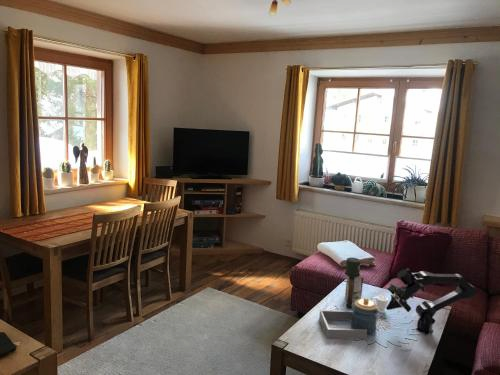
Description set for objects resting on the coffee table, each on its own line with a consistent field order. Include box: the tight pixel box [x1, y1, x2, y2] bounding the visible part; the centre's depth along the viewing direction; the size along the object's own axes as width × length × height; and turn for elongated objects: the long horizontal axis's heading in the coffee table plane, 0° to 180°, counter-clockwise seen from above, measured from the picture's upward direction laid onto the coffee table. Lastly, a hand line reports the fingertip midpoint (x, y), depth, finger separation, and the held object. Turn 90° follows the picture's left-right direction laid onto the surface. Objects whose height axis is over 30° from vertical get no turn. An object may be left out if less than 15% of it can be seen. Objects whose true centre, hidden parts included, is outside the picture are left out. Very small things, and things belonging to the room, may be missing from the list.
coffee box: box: [344, 275, 364, 304], centre depth 246 cm, size 9×6×16 cm
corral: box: [318, 309, 368, 340], centre depth 212 cm, size 20×20×5 cm
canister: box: [350, 297, 379, 336], centre depth 212 cm, size 13×13×18 cm
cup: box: [370, 294, 389, 313], centre depth 235 cm, size 7×10×8 cm
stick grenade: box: [344, 257, 361, 310], centre depth 234 cm, size 8×9×30 cm
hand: (386, 309), depth 212 cm, fingers closed
